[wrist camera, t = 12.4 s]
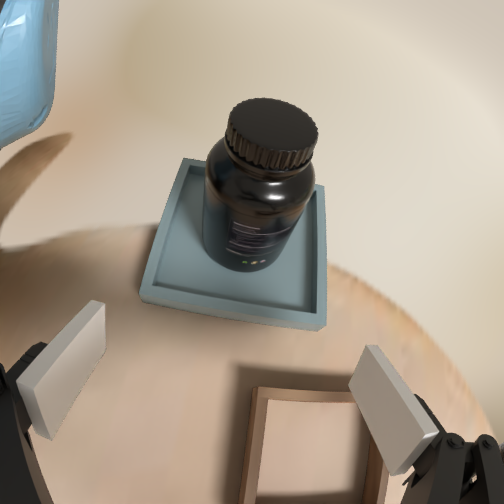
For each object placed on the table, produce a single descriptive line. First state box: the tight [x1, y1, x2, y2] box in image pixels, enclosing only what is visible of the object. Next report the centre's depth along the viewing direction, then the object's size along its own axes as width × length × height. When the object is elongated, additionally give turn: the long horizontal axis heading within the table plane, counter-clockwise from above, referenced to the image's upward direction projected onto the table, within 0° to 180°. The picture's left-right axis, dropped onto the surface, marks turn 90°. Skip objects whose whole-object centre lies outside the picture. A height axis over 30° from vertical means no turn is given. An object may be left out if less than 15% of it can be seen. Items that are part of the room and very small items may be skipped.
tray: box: [139, 158, 327, 331], centre depth 24 cm, size 14×14×2 cm
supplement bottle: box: [202, 98, 318, 273], centre depth 20 cm, size 7×7×12 cm
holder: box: [238, 386, 389, 504], centre depth 16 cm, size 11×11×2 cm
